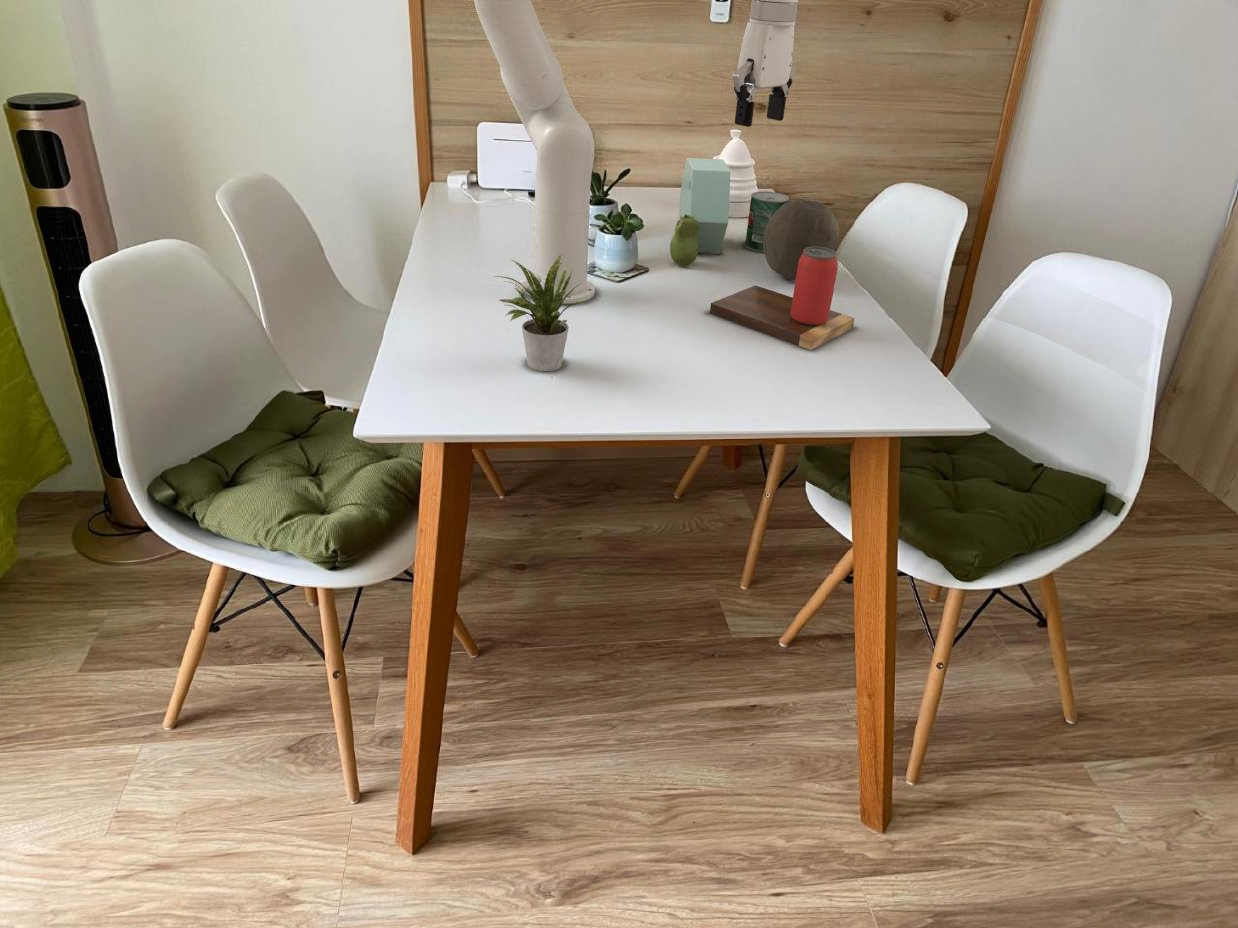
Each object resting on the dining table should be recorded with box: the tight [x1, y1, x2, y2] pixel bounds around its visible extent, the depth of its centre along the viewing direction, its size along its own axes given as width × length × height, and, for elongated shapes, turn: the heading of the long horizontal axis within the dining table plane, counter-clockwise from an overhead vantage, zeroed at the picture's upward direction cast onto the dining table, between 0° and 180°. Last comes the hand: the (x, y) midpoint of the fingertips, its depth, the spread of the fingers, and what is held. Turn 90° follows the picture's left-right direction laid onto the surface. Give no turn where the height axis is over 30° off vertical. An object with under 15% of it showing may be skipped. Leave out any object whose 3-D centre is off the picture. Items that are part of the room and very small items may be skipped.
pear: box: [669, 214, 699, 267], centre depth 181 cm, size 6×5×10 cm
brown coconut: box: [763, 198, 840, 281], centre depth 177 cm, size 14×14×15 cm
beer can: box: [790, 247, 839, 325], centre depth 154 cm, size 7×7×12 cm
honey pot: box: [712, 129, 759, 218], centre depth 216 cm, size 13×13×18 cm
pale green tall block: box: [678, 157, 730, 255], centre depth 190 cm, size 17×8×21 cm
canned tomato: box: [744, 190, 790, 254], centre depth 194 cm, size 8×8×11 cm
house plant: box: [494, 256, 586, 372], centre depth 137 cm, size 14×14×16 cm
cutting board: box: [709, 285, 856, 351], centre depth 160 cm, size 14×21×2 cm, turn 48°
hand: (759, 122), depth 158 cm, fingers open, 9 cm apart
